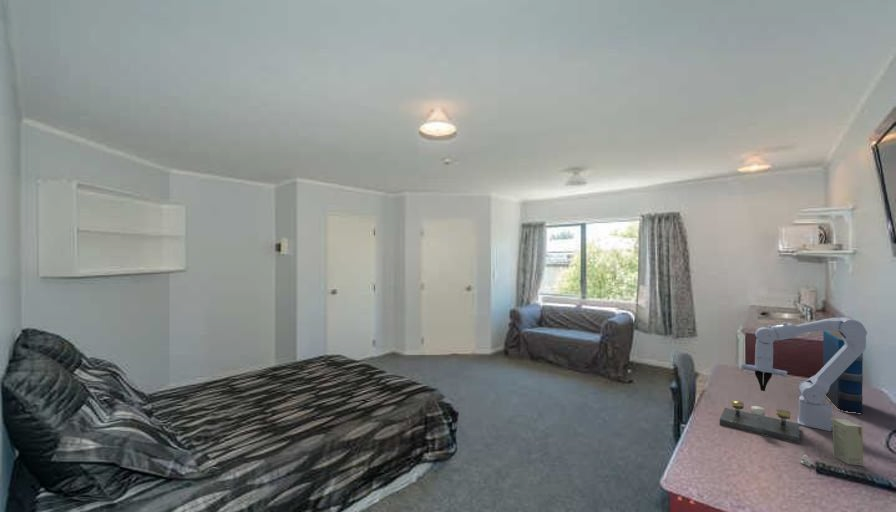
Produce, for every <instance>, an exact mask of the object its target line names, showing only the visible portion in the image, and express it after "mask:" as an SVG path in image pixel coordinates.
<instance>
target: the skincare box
mask: <svg viewBox="0 0 896 512" xmlns="http://www.w3.org/2000/svg"><path fill="white" fill-rule="evenodd" d="M863 441H864V440H863V426H862V425H861V424H860V425H859V424H857V423H855V422H853V421H851V420H849V419H848V418H847V419H844V418H834V417H833V418H832V455H833V456H834V457H835V458H837V459H839V460H840V461H842V462H844V463H845V464H847V465H854V466H864V450H863V449H864V448H863V447H864V444H863Z"/></svg>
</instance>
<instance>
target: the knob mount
mask: <svg viewBox="0 0 896 512" xmlns="http://www.w3.org/2000/svg"><path fill="white" fill-rule="evenodd" d="M719 425H721V426H725V427H730V428H734V429H737V430H742V431H747V432H750V431H751V432H750V433H754V432H755V434H758V433H759V434H758V435H762V434H763V436H766V435H767V436H766V437H772V438H775V439H779V440H784V441H787V442H791V441H792V442H791V443H795V442H797V443H796V444H800V425H799V424H798V423H797V422H795V421H789V420H786V424H783V423H781V422H780V419H779V418H774V417H771V416H770V417H769V416H765V415H764V416H761V420H756V419H755V414H753V413H751V412H747V411H742V410H740V413H735V409H732V408H729V407H724V409H723V411H722V414H721V416H720V418H719Z"/></svg>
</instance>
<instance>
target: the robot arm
mask: <svg viewBox="0 0 896 512" xmlns="http://www.w3.org/2000/svg"><path fill="white" fill-rule="evenodd" d="M819 331H828V332H835V333H840V334H841V335H842V338H843V341H844V343H845V344H844V346H843V347H842V348H841V349H840V350H839V351H838V352H837V353H836V354H835V355H834V356H833V357H832V358H831V359H830V360H829V361H828V362H827V363H826V364H825V365H824V367H821V369H820V370H819V371H817V373H816V374H814V375H812V376H810V377H809V378H808V379H807V380H803V381H801V382H800V383H799V384H798V391H799V392H800V394H801V395H800V396H799V397H798V416H797V418H796V419H797V422H796V423H798V424H799V426H804V427H808V428H814V429H818V430H823V431H827V432H833V418H832V414H833V413H832V404H827V403H825V400H826V397H825V395H826V393H827V392H828V391H829V388H830V385H831V384H832V383H833V382H834V381H835V380H836V379H837V378H838V377H839V376H840V375H841V374H842V373H843V372H844V371H845V370H846V369H847V368H848V367H849V366H850V365H851V364H852V363H853V362H854V361H855V360H856V359H857V358H858V357H859V356H860V354H861V353H862V352H864V351H866V349H867V334H868V332H867V330H866V328H865V326H864V324H863V323H862V322H860V321H858V320H856V319H853V318H852V317H850V316H840V317H829V318H824V319H820V320H815V321H811V322H810V321H809V322H805V323H800V324H793V323H791V322H789V323H787V322H786V321H785V322H782V323H781V324H778V325H773V326H772V325H771V324H769V325H767V327H764V326H761V327H758V328H757V329H756V330H755V332H754V335H755V338H756V340H755V345H754V346H755V347H754V348H755V350H754V351H755V352H754V364H746V363H741V365H740V366H741V367H740V369H741V370H746V371H752V372H754V375H755V377H756V379H757V382H758V384H759V387H760V391H762V392H765V391H766V387H767V385H768V384H769V381H770V380H771V378H772V376H773V375H775V376H780V377H785V378H788V371H787V370H782V369H777V368H774V342H775V341H783V340H788V339H795V338H797V337H798V336H799V335H800V334H803V333H804V334H806V333H811V332H819Z"/></svg>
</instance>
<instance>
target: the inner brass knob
mask: <svg viewBox="0 0 896 512" xmlns="http://www.w3.org/2000/svg"><path fill="white" fill-rule="evenodd" d="M775 413H776V414H775V415H776V417H778V418H780V422H781V423H783V424H786V421H787V420H789V419H791V412H790V411H788V410H787V409H786V410H785V409H780V408H779V409H776V412H775Z"/></svg>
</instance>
